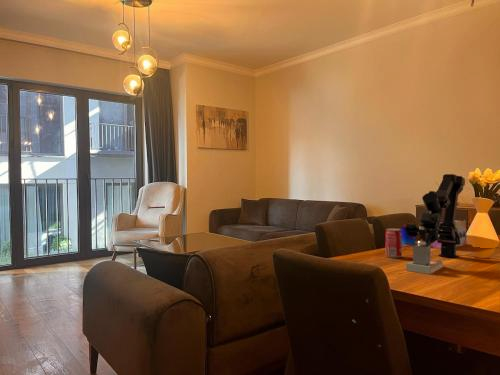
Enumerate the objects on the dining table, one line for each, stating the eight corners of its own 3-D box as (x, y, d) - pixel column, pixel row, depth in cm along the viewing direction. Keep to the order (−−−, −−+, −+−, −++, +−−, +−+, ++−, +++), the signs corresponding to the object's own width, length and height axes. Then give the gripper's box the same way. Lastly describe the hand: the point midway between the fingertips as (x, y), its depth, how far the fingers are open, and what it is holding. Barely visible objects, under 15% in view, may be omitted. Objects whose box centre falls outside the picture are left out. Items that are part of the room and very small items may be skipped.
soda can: (403, 258, 177) (403, 230, 177) (386, 258, 179) (386, 230, 178) (400, 255, 184) (400, 228, 184) (384, 255, 186) (384, 228, 185)
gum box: (454, 242, 220) (454, 218, 219) (468, 244, 213) (468, 220, 213) (428, 247, 207) (428, 221, 207) (442, 249, 200) (442, 223, 200)
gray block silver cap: (417, 264, 159) (417, 239, 158) (430, 266, 155) (430, 241, 155) (413, 266, 155) (413, 241, 155) (426, 268, 152) (426, 242, 151)
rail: (421, 263, 168) (421, 256, 168) (443, 266, 162) (443, 259, 162) (406, 270, 155) (406, 263, 155) (429, 274, 149) (430, 267, 149)
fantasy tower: (392, 244, 216) (392, 222, 216) (409, 242, 220) (409, 221, 220) (406, 247, 205) (406, 225, 205) (424, 246, 209) (425, 224, 208)
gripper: (406, 204, 167) (395, 233, 159) (453, 207, 154) (444, 237, 146) (412, 221, 173) (403, 249, 165) (459, 224, 160) (450, 255, 152)
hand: (424, 247), depth 157 cm, fingers closed, pressing on gray block silver cap
